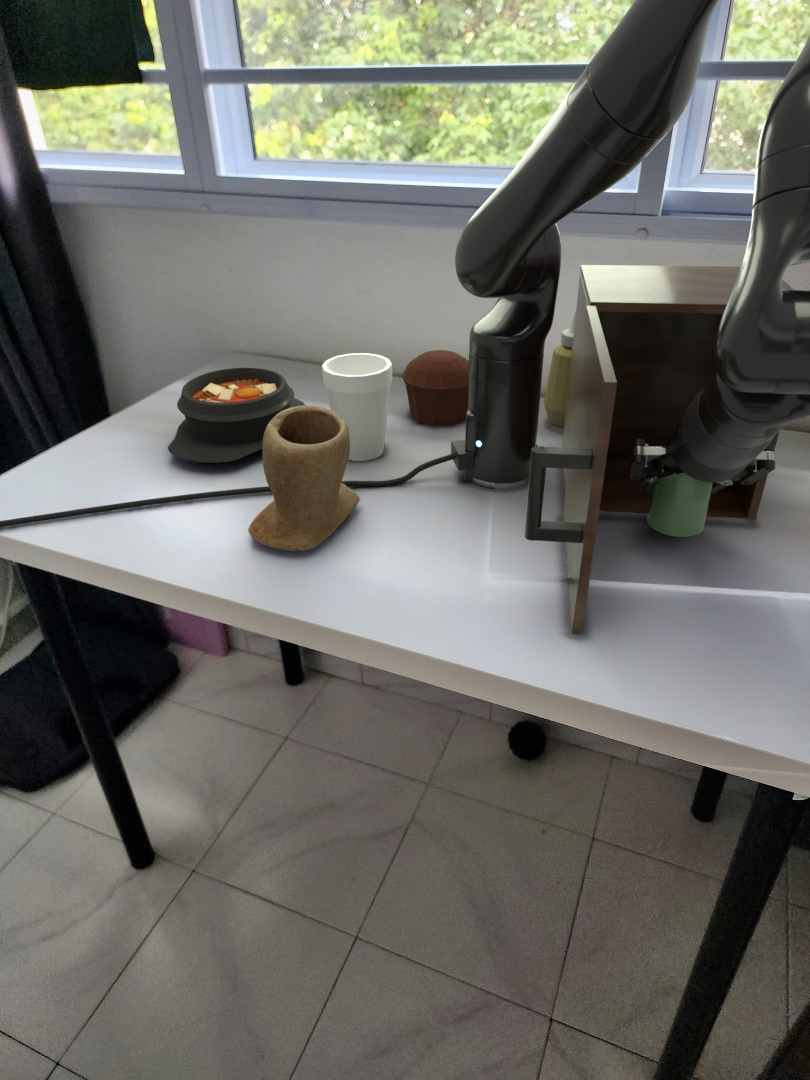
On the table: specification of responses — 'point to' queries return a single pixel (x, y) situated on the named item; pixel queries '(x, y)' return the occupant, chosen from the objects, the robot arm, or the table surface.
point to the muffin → (437, 387)
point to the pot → (679, 506)
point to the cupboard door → (578, 468)
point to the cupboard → (655, 366)
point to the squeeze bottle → (559, 378)
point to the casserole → (229, 413)
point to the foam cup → (360, 399)
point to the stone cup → (304, 478)
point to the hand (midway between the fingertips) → (678, 483)
